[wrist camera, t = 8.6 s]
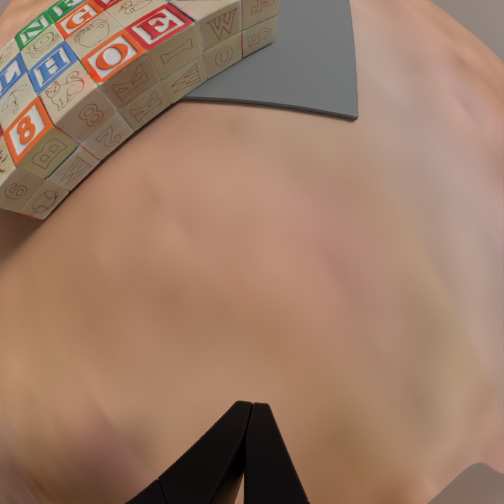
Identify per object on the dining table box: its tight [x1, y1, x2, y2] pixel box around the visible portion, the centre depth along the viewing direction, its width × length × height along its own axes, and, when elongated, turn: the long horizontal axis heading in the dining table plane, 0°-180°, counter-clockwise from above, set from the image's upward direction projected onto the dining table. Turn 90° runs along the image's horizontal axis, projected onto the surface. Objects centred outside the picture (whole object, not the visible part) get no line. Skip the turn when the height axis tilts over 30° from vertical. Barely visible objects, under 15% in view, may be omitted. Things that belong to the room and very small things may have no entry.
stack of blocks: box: [0, 0, 280, 220], centre depth 16 cm, size 21×6×12 cm
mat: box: [180, 0, 358, 120], centre depth 19 cm, size 14×22×1 cm, turn 83°
